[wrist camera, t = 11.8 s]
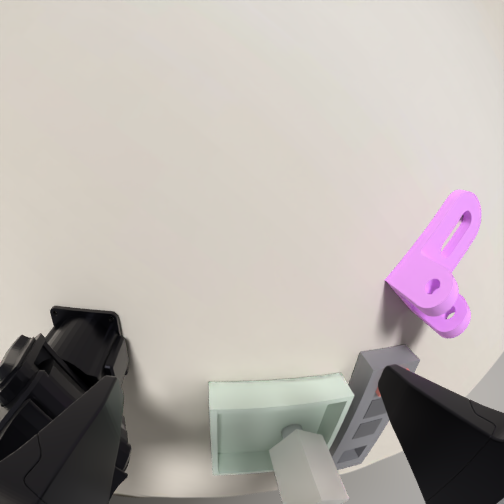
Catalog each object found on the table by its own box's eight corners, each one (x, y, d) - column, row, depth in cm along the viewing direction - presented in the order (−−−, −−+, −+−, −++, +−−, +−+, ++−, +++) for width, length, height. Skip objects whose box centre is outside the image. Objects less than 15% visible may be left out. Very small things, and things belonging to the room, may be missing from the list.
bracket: (409, 309, 25) (451, 345, 18) (383, 279, 23) (431, 316, 17) (477, 216, 23) (525, 232, 17) (459, 177, 21) (512, 188, 15)
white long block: (265, 436, 27) (286, 518, 17) (291, 415, 26) (321, 500, 16) (291, 442, 28) (315, 517, 18) (317, 422, 27) (349, 499, 17)
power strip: (353, 449, 32) (363, 467, 29) (316, 457, 31) (324, 477, 28) (405, 344, 26) (424, 364, 23) (360, 351, 25) (377, 375, 22)
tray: (211, 452, 28) (212, 475, 24) (208, 381, 24) (209, 409, 20) (314, 443, 30) (321, 463, 26) (340, 372, 26) (354, 395, 22)
